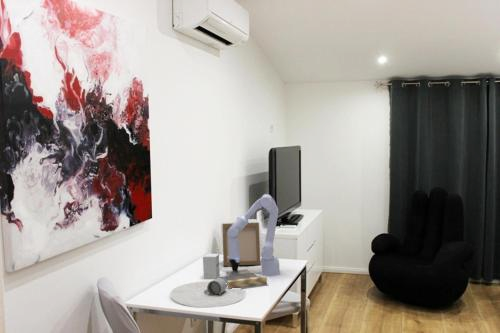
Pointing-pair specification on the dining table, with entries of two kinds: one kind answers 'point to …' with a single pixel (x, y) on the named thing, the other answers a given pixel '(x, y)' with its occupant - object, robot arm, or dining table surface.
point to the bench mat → (245, 287)
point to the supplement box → (211, 266)
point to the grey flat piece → (238, 274)
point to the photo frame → (244, 244)
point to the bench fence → (247, 282)
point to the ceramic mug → (216, 286)
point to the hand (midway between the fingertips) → (235, 272)
